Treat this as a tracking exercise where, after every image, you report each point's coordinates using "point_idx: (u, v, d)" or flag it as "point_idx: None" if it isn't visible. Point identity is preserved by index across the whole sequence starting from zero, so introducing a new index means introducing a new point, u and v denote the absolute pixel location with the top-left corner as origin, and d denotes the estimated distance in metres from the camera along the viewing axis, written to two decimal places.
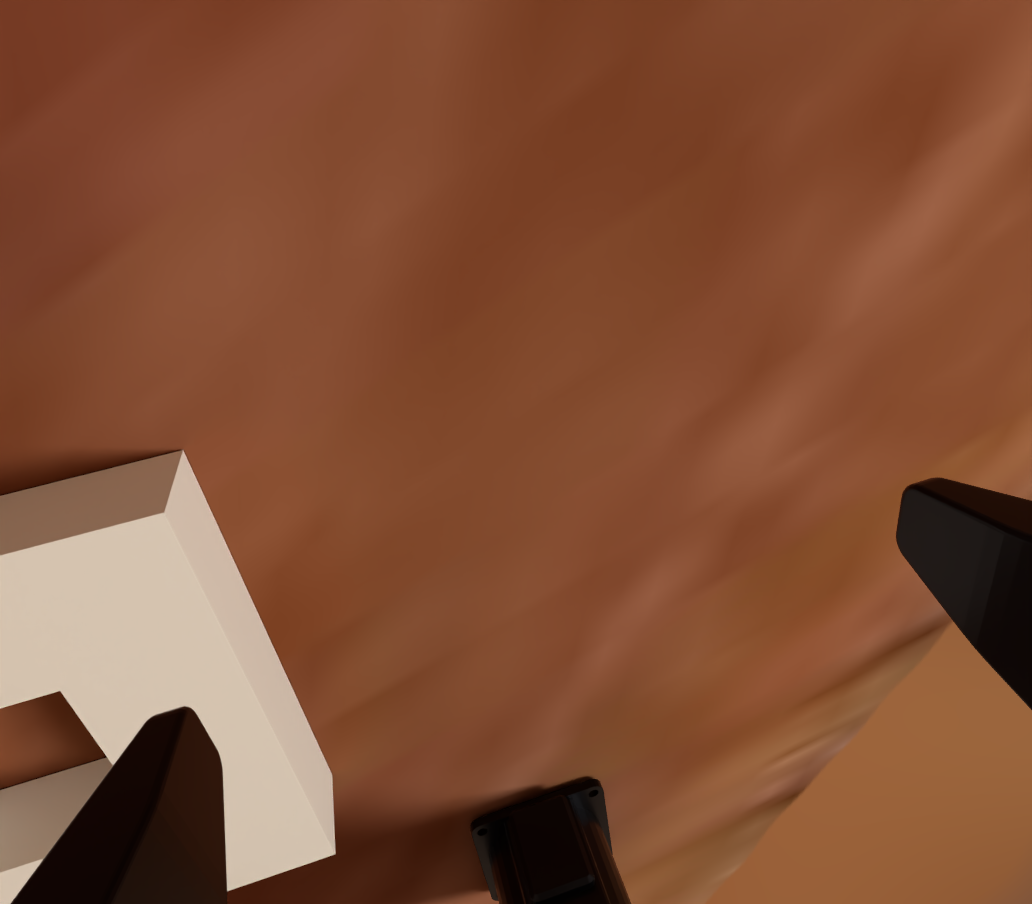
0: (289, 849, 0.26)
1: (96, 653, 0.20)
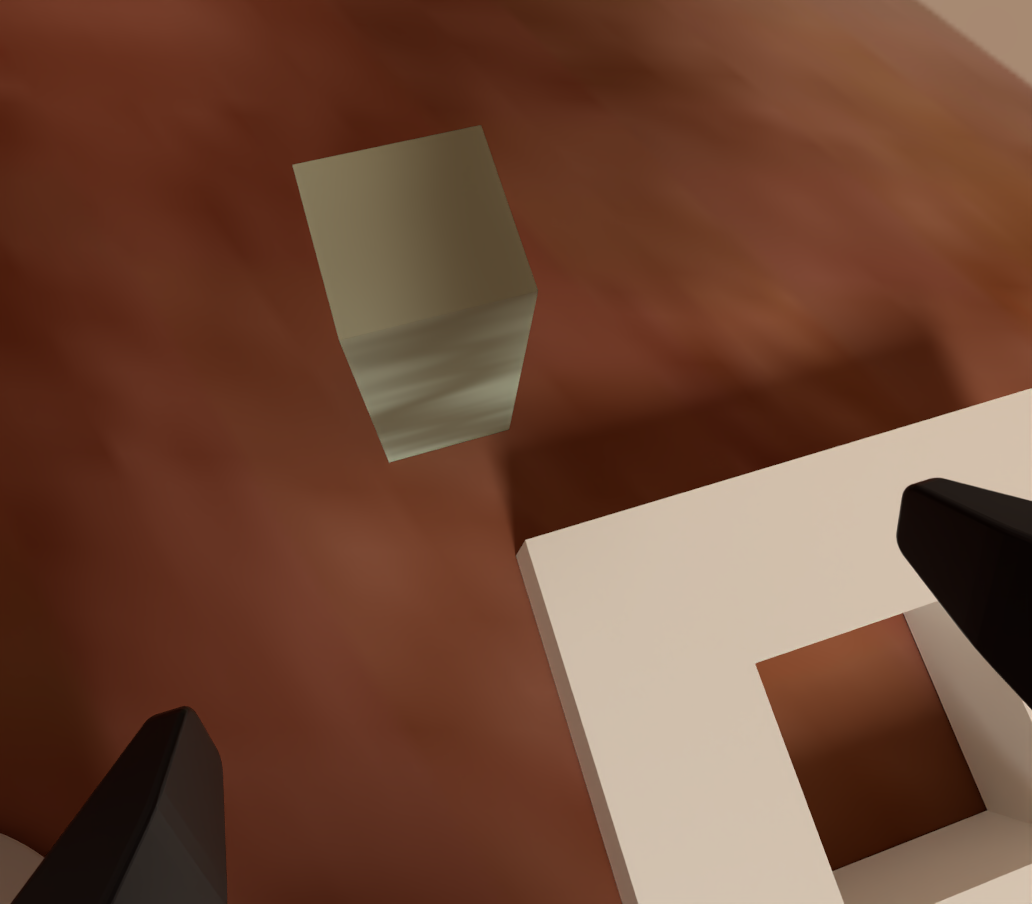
0: None
1: None
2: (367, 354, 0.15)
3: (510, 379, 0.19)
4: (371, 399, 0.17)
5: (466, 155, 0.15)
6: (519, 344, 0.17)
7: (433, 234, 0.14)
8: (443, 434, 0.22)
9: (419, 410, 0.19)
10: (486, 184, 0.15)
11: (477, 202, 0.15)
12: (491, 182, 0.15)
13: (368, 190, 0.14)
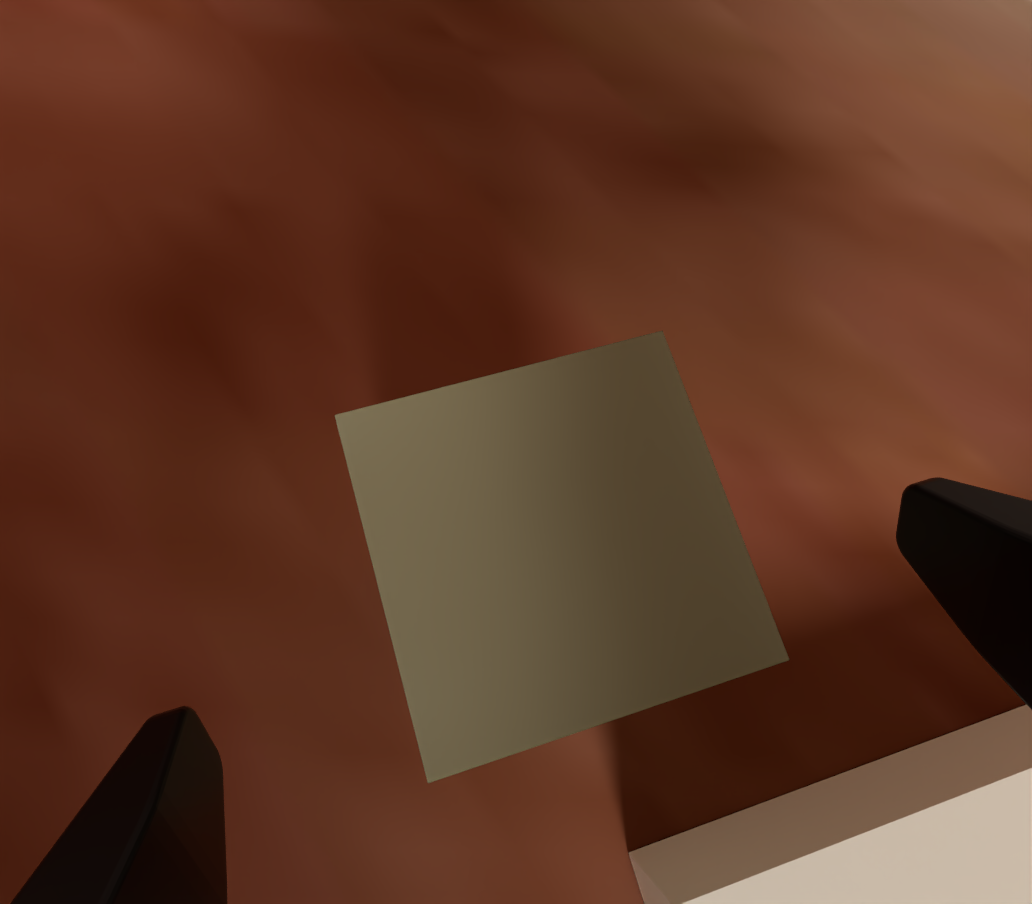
0: None
1: None
2: None
3: None
4: None
5: (641, 389, 0.08)
6: None
7: (593, 549, 0.08)
8: None
9: None
10: (680, 445, 0.08)
11: (666, 481, 0.08)
12: (687, 439, 0.08)
13: (472, 463, 0.08)
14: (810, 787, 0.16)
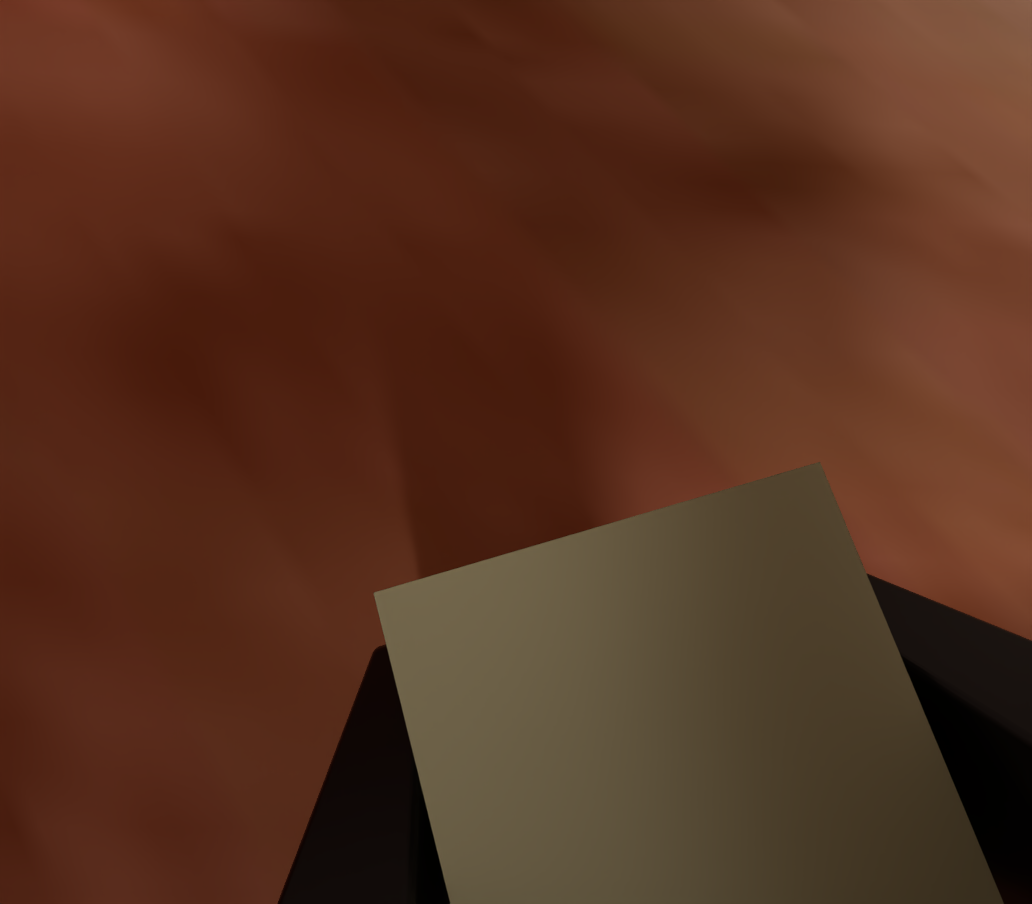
0: None
1: None
2: None
3: None
4: None
5: (795, 548, 0.06)
6: None
7: (742, 790, 0.06)
8: None
9: None
10: (853, 629, 0.06)
11: (838, 685, 0.06)
12: (862, 620, 0.06)
13: (567, 662, 0.06)
14: None
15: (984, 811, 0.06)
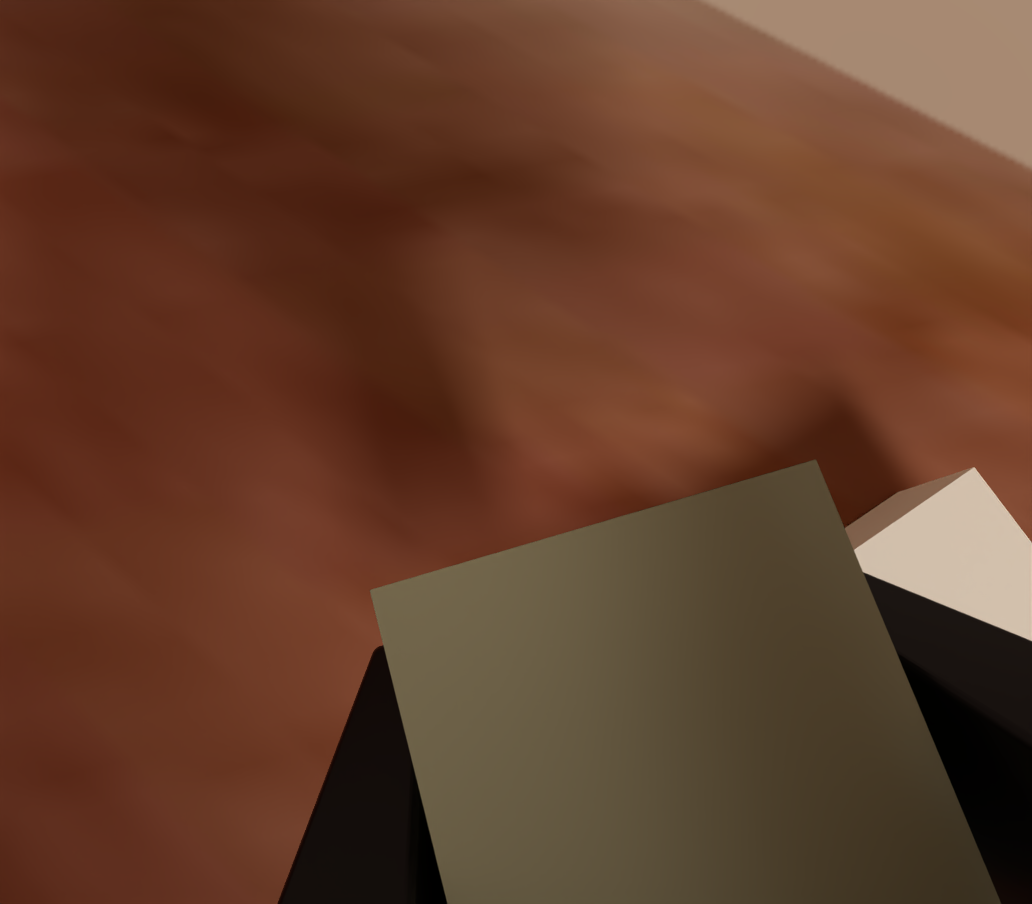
0: None
1: None
2: None
3: None
4: None
5: (791, 545, 0.06)
6: None
7: (738, 789, 0.06)
8: None
9: None
10: (849, 626, 0.06)
11: (833, 682, 0.06)
12: (858, 617, 0.06)
13: (564, 659, 0.06)
14: None
15: (984, 811, 0.06)
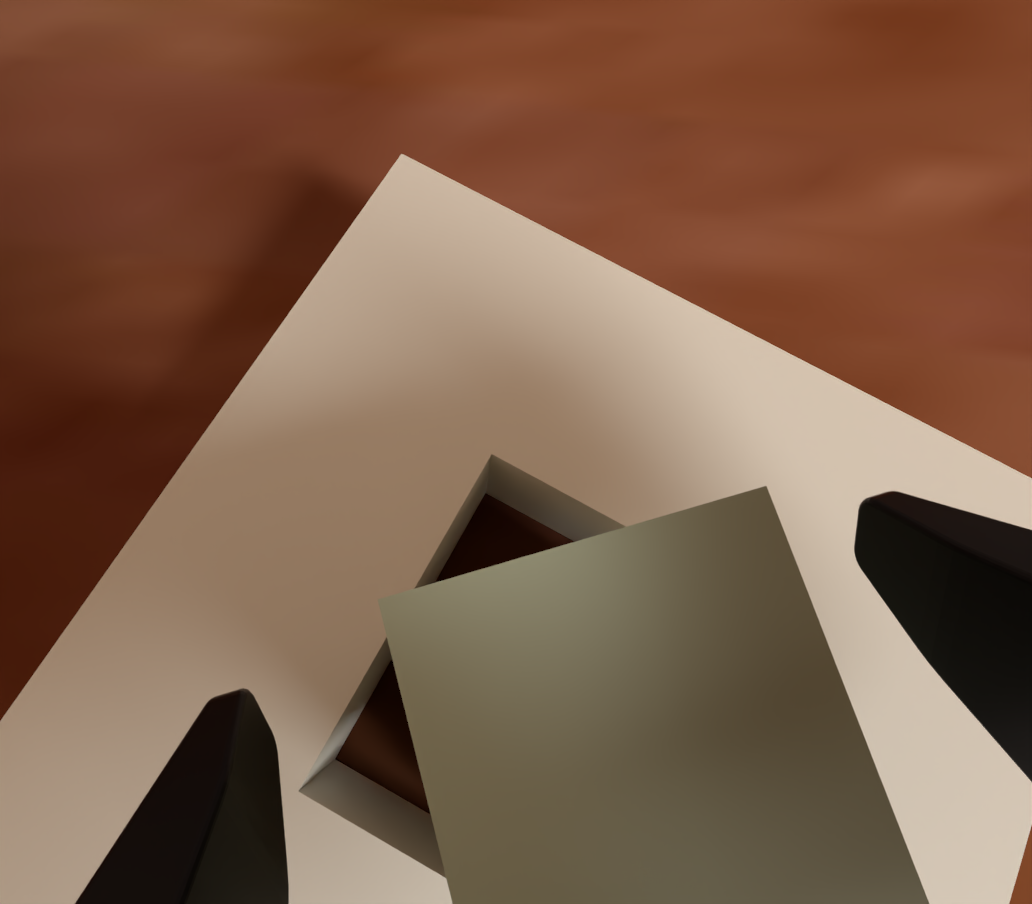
0: None
1: None
2: None
3: None
4: None
5: (743, 561, 0.07)
6: None
7: (692, 770, 0.06)
8: None
9: None
10: (791, 632, 0.07)
11: (777, 679, 0.07)
12: (800, 624, 0.07)
13: (544, 659, 0.07)
14: None
15: None
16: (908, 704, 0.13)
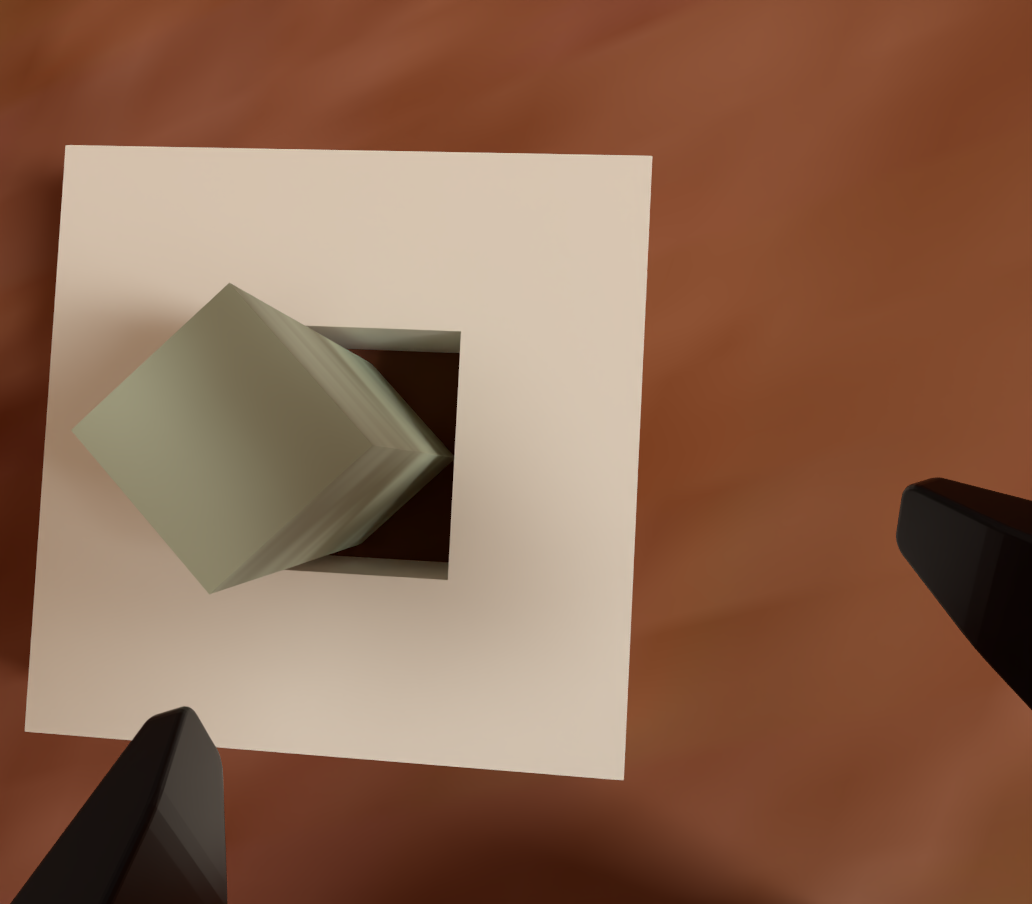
0: (572, 730, 0.18)
1: (516, 297, 0.19)
2: (250, 571, 0.14)
3: (417, 460, 0.17)
4: (292, 563, 0.16)
5: (231, 327, 0.13)
6: (398, 456, 0.15)
7: (242, 435, 0.13)
8: (393, 506, 0.21)
9: (350, 526, 0.18)
10: (267, 350, 0.13)
11: (267, 376, 0.13)
12: (271, 344, 0.13)
13: (156, 419, 0.13)
14: None
15: None
16: (541, 349, 0.19)
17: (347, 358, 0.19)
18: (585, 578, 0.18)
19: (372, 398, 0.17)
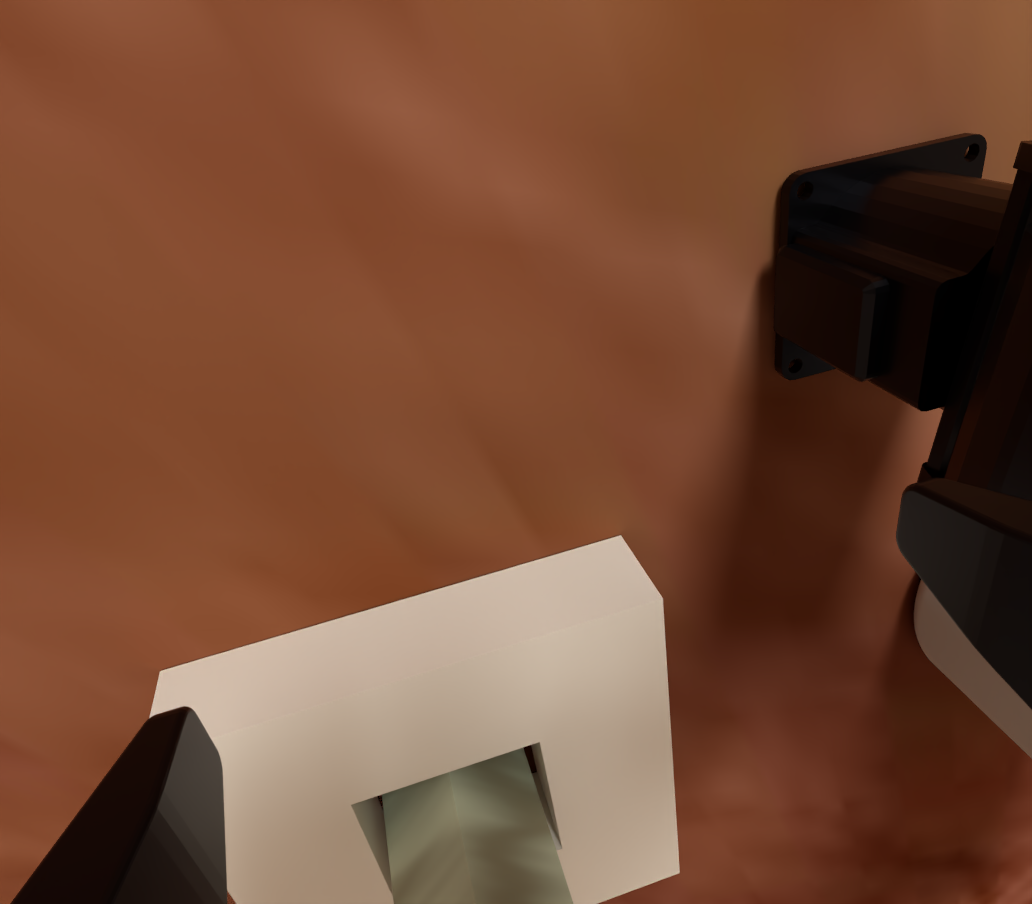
0: (631, 639, 0.23)
1: (309, 788, 0.23)
2: None
3: (464, 816, 0.23)
4: (557, 865, 0.24)
5: None
6: (476, 882, 0.21)
7: None
8: None
9: (519, 814, 0.25)
10: None
11: None
12: None
13: None
14: None
15: None
16: (344, 760, 0.22)
17: (399, 853, 0.25)
18: (516, 672, 0.22)
19: (431, 865, 0.23)
